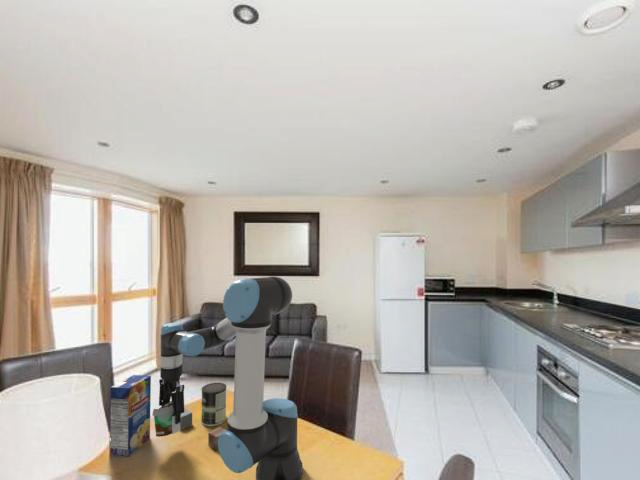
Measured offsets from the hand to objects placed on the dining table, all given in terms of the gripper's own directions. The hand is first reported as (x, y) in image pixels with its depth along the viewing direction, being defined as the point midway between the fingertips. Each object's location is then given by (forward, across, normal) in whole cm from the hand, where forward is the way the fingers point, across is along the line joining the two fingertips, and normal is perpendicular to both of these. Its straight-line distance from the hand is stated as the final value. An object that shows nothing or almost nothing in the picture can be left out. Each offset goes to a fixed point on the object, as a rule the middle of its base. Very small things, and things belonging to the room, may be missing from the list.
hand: (171, 428), depth 120 cm
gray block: (+7, +12, -12) cm, 19 cm away
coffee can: (+8, +5, -22) cm, 24 cm away
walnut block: (+8, -12, -12) cm, 18 cm away
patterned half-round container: (+1, -1, 0) cm, 1 cm away
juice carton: (+7, +14, +8) cm, 18 cm away
